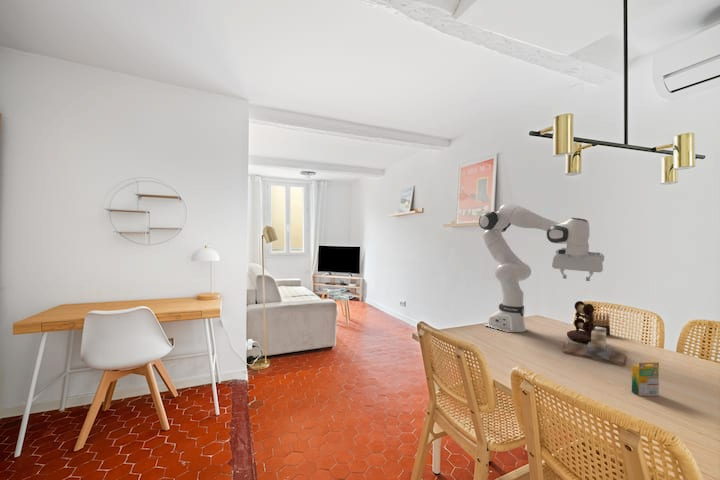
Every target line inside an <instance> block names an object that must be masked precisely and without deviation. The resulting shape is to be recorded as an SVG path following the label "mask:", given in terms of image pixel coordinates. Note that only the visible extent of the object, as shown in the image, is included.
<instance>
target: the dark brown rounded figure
mask: <svg viewBox="0 0 720 480" xmlns="http://www.w3.org/2000/svg"><path fill="white" fill-rule="evenodd" d="M574 309H575V311H576V312H575V317H576V318H575V320H574V321H573V325H574V327H575V329H573V330H569V331H567V332H566V336H567V337H568V338H571V339H574V340H577V341H579V344H583V343H582V342H587V343H588V342H591V332H592V331H593V329H594V321H593V313H594V312H595V306H594V305H593V304H591V303H586V304H585V302H584V301H581V300H580V301H576V302H575V303H574Z"/></svg>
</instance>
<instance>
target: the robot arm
mask: <svg viewBox="0 0 720 480" xmlns="http://www.w3.org/2000/svg"><path fill="white" fill-rule="evenodd" d="M478 224H479V227H480V228H481V229H483V230H484V231H483V233H482V237H483V240H484V243H485V245H486V248H487V250H488V251H489V253H490V255H491V256H492V258H493V259H494V260H495V262H497V263H499V264H500V265H498V266H497V267H495V271H494V276H495V278H496V280H497V281H499V284H500V287H501V290H502V292H501V294H502V302H500V303H499V305H498V310H495V311H494V312H493V313H491V314H490V315H489V317H488V321H485V323H488V324H485V323H484V326H485V325H486V326H488V327H487V328H490V327H491V328H490V329H493V328H494V329H495V330H497V329H499V330H498V331H501V330H502V332H506V333H523V332H526V331H527V328H526V324H525V318H524V315H525V305H524V292H523V290H522V289H521V287H520V284H519V282H520V281H521V282H522V281H524V280H527V279H529V278H530V276H531V274H532V270H531V267H530V266H529V264H527V263H526V262H523V260H522V259H520V258H519V257H518V256H517V255H516V254H515V253H514V252H513V250H512V248H511V247H510V245H508V243H507V241H506V239H505V238H504V237H503V234H502V233H504V232H506V231H507V229H508V228H509V227H510V226H511V225H512V226H514V227H517V228H523V229H534V230H535V229H537V230H542V231H545V232H546V237H547V240H548V242H550V243H553V244H562V245H563V244H566V247H561V248H558V249H556V250H555V255H554V256H553V259H552V263H551V264H552V266H551V268H553V270H554V269H557V270H560V273H561V275H562V279H567V278H568V276H567V274H565V273H564V271H566V270H567V271H579V272H589V273H588V274H589V275H588V276H586V277H585V281H586V282H590V281H591V277H592V276H593V274H594V273H602V272H603V270H604V265H603V264H604V263H603V262H604V261H605V255H604V254H603V253H601V252H593V251H589V250H590V249H589V248H590V244H589V238H590V224H589V221H588V220H587V219H585V218H580V217H578V218H577V217H571V218H569V219H567V220H565V221H564V222H561V223H558V222H556V221H554V220H551V219H548V218H545V217H543V216H541V215H539V214H538V213H535V212H533V211H532V210H529V209H527V208H526V207H522V206H520V205H517V204H514V203H509V202H508V203H504V204H501V206H500V207H499V209H498V211H490V212H485V213H483V214H482V215H480V216H479V219H478ZM486 326H485V327H486Z"/></svg>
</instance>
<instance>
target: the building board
mask: <svg viewBox="0 0 720 480" xmlns="http://www.w3.org/2000/svg"><path fill="white" fill-rule="evenodd" d="M595 331H598V332H604V333H606V328H603V327H595ZM562 353H563V354H567V355H572V356H576V357H582V358H585V359H589V360H590V359H591V360H593V361H600V362H605V363H608V364H609V363H610V364H612V365H613V364H614V365H618V366H623V367H624V366H625V360H626V359H625V358H626V352H625V351H618V350H614V349H611V345H608V344H606V347H605V349H602V348H597V347H592V346H591V342H587V344H583V343H576V342H573V341H572V342H571V341H568V342H567V344H565V346H564V347H563V350H562Z"/></svg>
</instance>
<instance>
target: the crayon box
mask: <svg viewBox="0 0 720 480" xmlns="http://www.w3.org/2000/svg"><path fill="white" fill-rule="evenodd" d="M659 368H660V363H659V362H658V361H657V362H638V364H631V393H632V394H634V395H636V396H638V397H649V396H650V397H658V396H660V393H659V392H660V390H659V389H660V388H659V386H660V383H659V381H660V378H659V377H660V376H659V375H660V372H659V371H660V370H659Z"/></svg>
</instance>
